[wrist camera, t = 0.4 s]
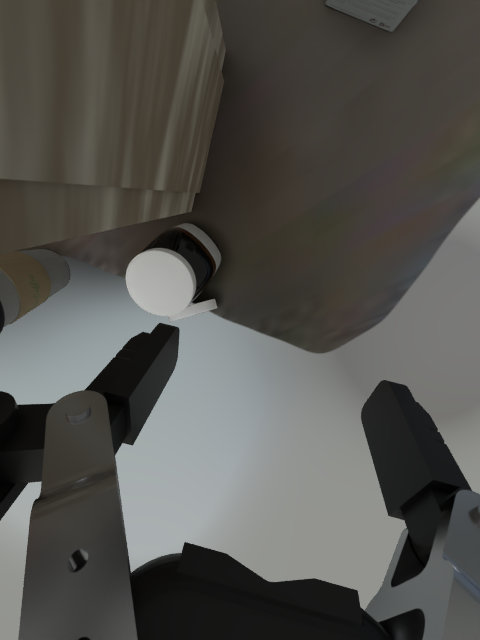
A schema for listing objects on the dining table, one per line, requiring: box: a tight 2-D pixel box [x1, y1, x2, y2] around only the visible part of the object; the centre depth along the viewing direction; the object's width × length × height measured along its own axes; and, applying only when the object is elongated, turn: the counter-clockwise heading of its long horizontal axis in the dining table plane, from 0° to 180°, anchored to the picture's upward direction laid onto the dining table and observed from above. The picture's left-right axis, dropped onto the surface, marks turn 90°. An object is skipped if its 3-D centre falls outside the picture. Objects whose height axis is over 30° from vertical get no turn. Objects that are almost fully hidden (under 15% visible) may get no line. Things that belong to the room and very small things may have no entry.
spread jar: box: [126, 223, 221, 322], centre depth 31 cm, size 12×11×12 cm
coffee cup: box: [0, 249, 70, 333], centre depth 31 cm, size 9×9×15 cm
